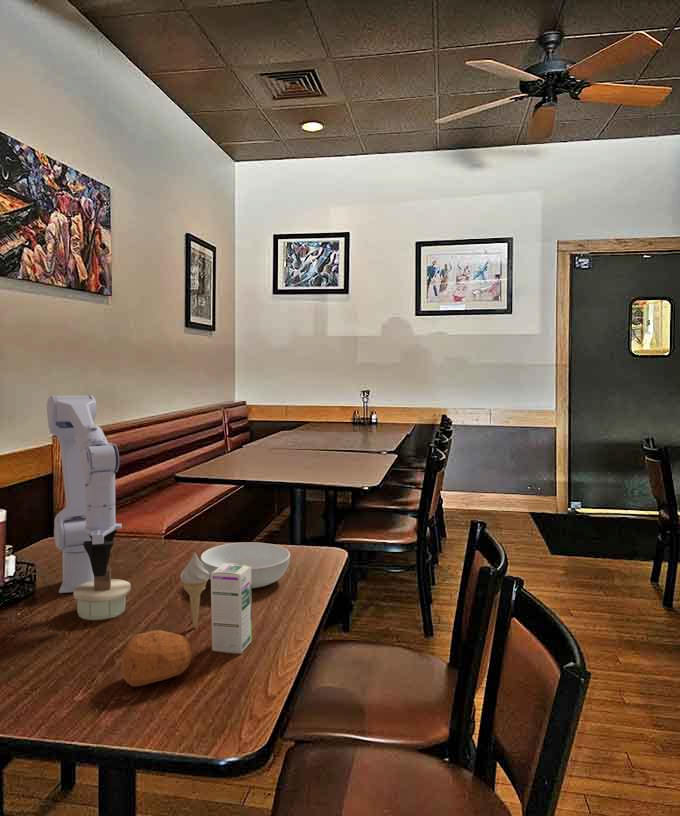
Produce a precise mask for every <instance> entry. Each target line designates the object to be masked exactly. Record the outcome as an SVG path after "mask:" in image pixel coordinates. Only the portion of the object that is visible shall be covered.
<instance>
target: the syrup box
mask: <svg viewBox="0 0 680 816" xmlns="http://www.w3.org/2000/svg"><path fill="white" fill-rule="evenodd" d="M252 589H253V588H251V566H250V565H246V564H237V563H227V564H225V563H223V564H222V566H220V567H219V568H217V569H216V570H215V571H213V572H212V573H211V580H210V601H211V602H210V603H211V604H210V605H211V607H210V608H211V609H210V610H211V612H210V614H211V617H210V619H211V621H210V622H211V651H214V652H218V653H227V654H238V655H239V654H240V655H241V654H243V652H244V650H245V649H247V647H248V646H249V644H251V643H252V641H253V608H252V607H253V606H252V604H253V603H252V601H253V599H252V596H253V595H252Z"/></svg>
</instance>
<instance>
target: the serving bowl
mask: <svg viewBox="0 0 680 816" xmlns="http://www.w3.org/2000/svg"><path fill="white" fill-rule="evenodd" d="M199 560H200V562H201V563H202V564H203V565H204V567H205V570H207V571H208V572H209V574H210V575H209V576H208V577H209V579H208V580H210V581H211V573H212V572H213V571H215V570H216V569H217V568H219V567H220V566H222V564H223V563H225V564H227V563H237V564H246V565H250V566H251V589H257V588H261V587H266V586H268V585H272V584H273V583H275V582H277V581H278V580H279V579H281V578H282V577H283V576H284V575H285V573H286V572H287V570H288V567H289V565H290V560H291V553H290V551H289V550H288V549H286V547H283V546H280V545H276V544H273V543H267V542H266V543H265V542H252V541H251V542H250V541H249V542H246V541H245V542H244V541H243V542H242V541H241V542H233V543H226V544H225V543H223V544H221V545H216V546H212V547H211V548H209V549H207V550H204V552H202V554H201V555H200V558H199Z"/></svg>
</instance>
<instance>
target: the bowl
mask: <svg viewBox="0 0 680 816" xmlns="http://www.w3.org/2000/svg"><path fill="white" fill-rule="evenodd" d="M76 607H77V608H76V609H77V610H76V611H77V612H76V613H77V614H78V617H79V618H80V619H83V620H86V621H103V620H109V619H112V618H115V617H119V616H120V615H122V614H124V612H125V611H126V596H124V597H122V598H119V599H115V600H111V601H105V602H83V601H79V600H77V599H76Z"/></svg>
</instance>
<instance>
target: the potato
mask: <svg viewBox="0 0 680 816" xmlns="http://www.w3.org/2000/svg"><path fill="white" fill-rule="evenodd" d="M122 651H123V652H122V655H121V658H120V665H121V667H120V668H121V675H122V679H123V681H125V682H126V683H127V684H128V685H129V686H131V687H142V686H146V685H150V684H153V683H156V682H160V681H164V680H167V679H171V678H173V677H176V676H179V675H181V674H183V673H184V672H185V671H186V669H188V668H189V665H190V663H191V660H192V655H193V646H192V644H191V643H190V641H189V639H188V638H187V637H185V636H183V635H181V634H180V633H179V634H178V633H174V632H170V631H165V630H161V629H155V630H150V631H146V632H141V633H138V634H135V635H134V636H133V637H131V639H130V640H129V641H128V642H127V644H126V646H124V649H123V650H122Z"/></svg>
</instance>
